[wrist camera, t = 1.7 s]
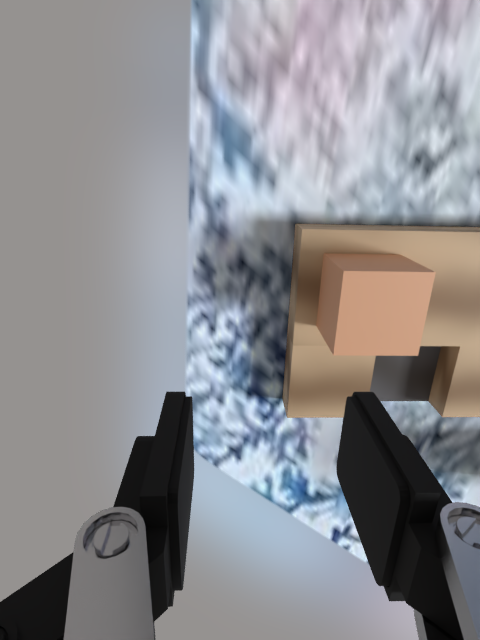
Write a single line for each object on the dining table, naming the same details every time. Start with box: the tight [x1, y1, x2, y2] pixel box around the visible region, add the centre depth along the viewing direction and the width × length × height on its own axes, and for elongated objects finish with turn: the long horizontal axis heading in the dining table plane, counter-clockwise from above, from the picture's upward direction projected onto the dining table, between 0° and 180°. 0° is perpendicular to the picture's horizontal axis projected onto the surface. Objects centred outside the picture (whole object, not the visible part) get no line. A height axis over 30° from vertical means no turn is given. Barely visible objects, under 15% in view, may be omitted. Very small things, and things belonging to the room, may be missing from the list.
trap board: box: [283, 224, 480, 418], centre depth 27 cm, size 14×24×6 cm, turn 89°
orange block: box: [316, 253, 436, 356], centre depth 24 cm, size 5×5×4 cm
